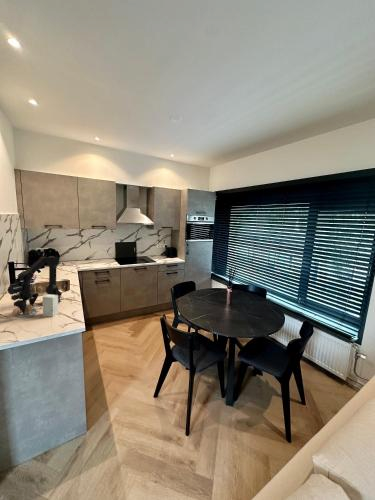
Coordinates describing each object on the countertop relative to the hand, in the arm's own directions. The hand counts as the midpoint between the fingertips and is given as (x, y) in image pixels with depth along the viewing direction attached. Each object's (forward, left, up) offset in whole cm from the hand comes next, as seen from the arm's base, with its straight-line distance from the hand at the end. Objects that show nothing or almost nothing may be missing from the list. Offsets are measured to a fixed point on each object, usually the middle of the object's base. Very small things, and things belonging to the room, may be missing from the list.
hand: (27, 310), depth 153 cm
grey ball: (-1, -6, -4) cm, 7 cm away
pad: (0, 0, -4) cm, 4 cm away
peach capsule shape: (+8, 0, -4) cm, 9 cm away
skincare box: (-16, +1, -4) cm, 17 cm away
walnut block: (0, 0, -3) cm, 3 cm away
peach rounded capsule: (+8, -5, -4) cm, 10 cm away
